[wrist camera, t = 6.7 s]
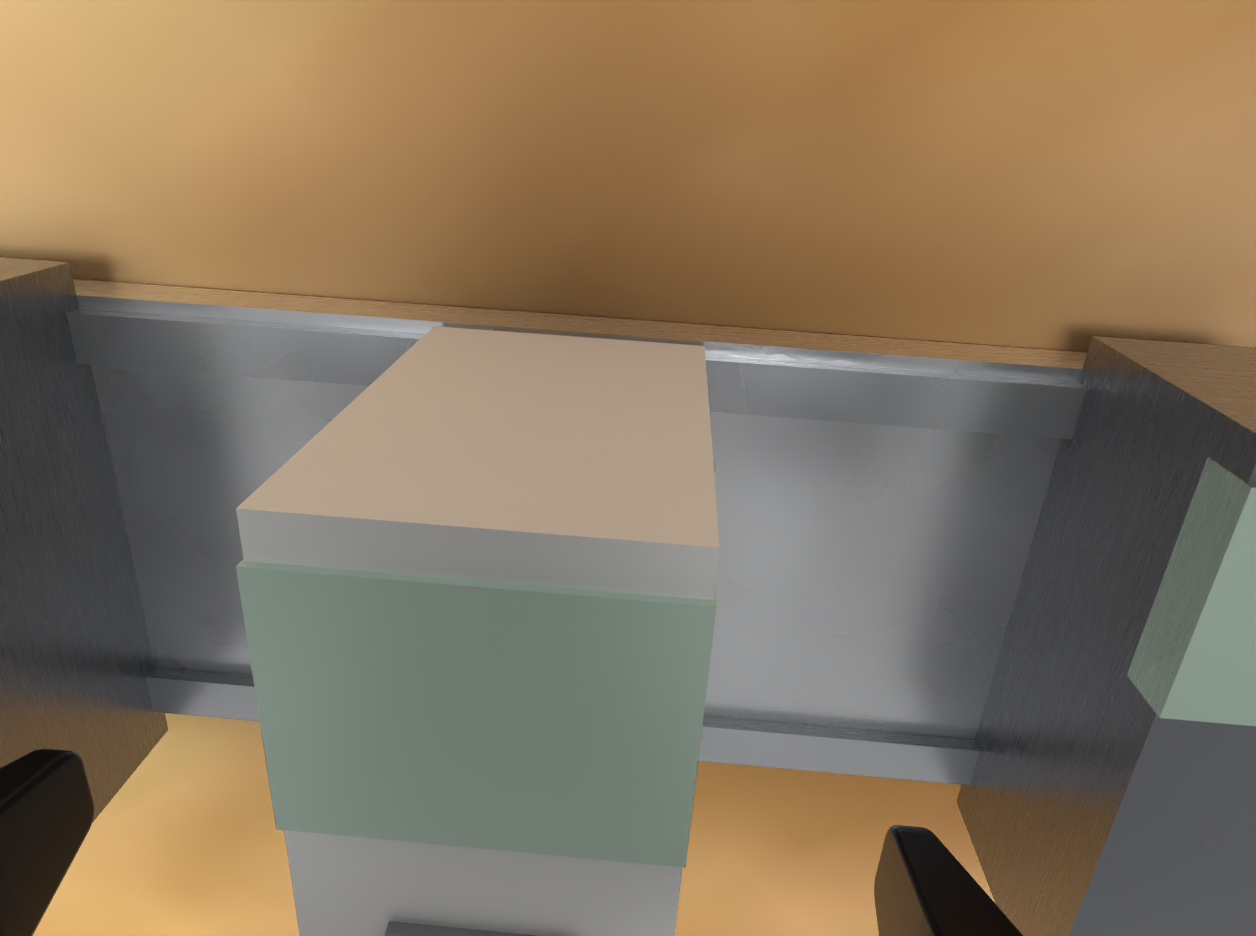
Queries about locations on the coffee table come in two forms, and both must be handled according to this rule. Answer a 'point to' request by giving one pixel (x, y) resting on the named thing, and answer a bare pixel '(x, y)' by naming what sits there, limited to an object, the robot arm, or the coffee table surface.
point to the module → (490, 639)
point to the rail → (721, 563)
